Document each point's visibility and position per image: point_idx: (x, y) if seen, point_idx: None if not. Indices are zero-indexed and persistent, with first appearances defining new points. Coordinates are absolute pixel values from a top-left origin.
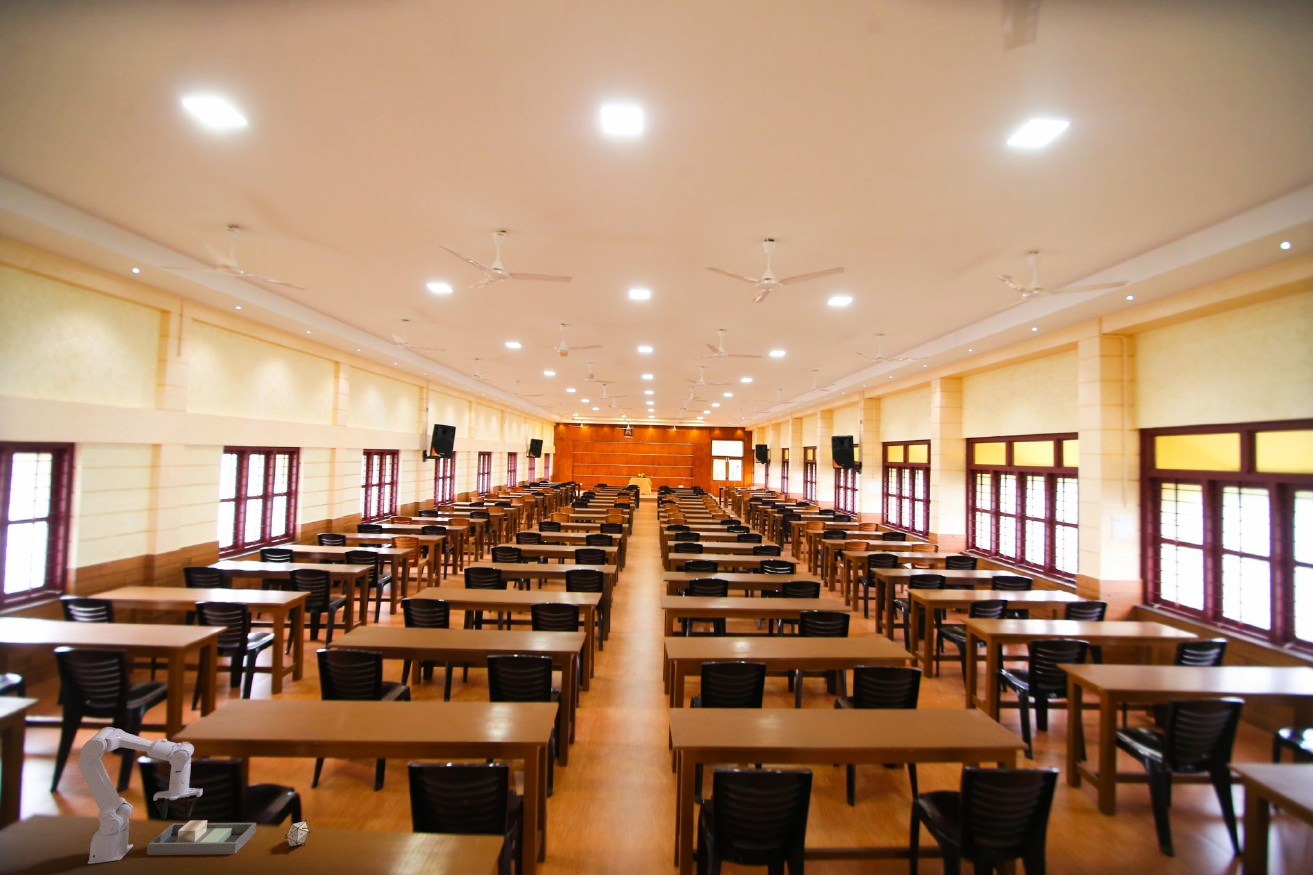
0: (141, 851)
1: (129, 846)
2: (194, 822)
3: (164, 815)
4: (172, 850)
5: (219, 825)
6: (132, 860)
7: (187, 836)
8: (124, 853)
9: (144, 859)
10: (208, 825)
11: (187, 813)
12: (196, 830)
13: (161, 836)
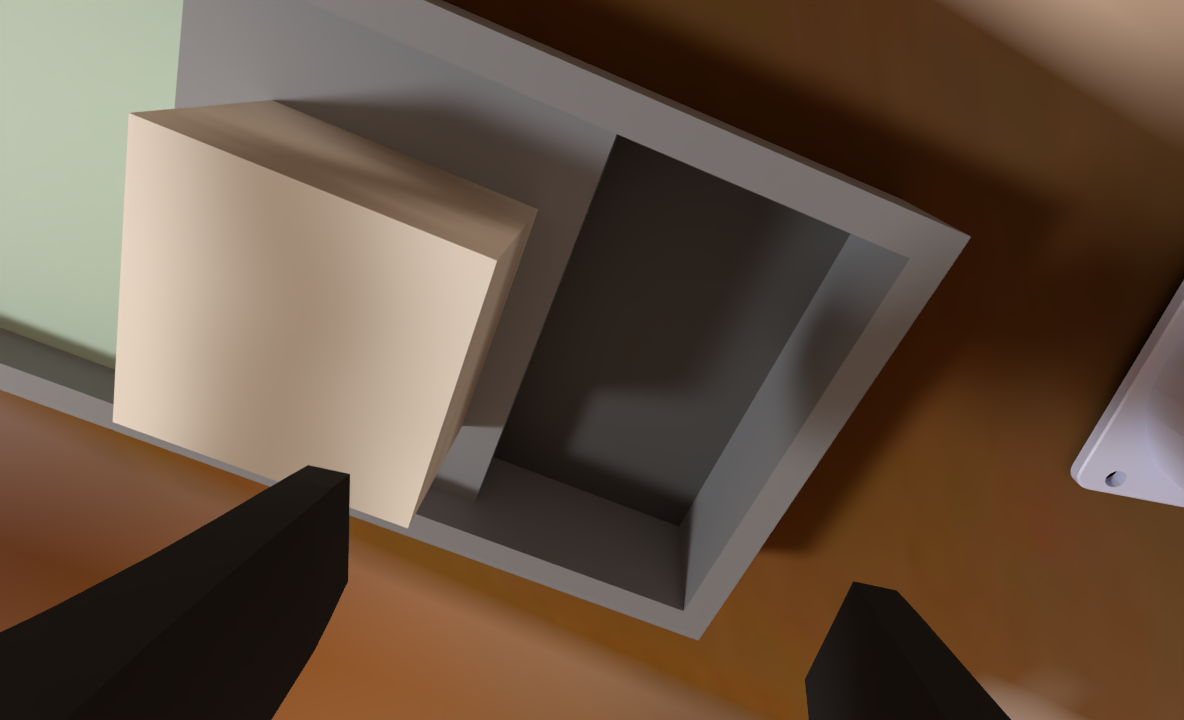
0: (969, 315)
1: (1119, 456)
2: (310, 441)
3: (876, 696)
4: (566, 56)
5: (83, 380)
6: (1071, 126)
7: (355, 164)
8: (1182, 321)
9: (919, 83)
10: None
11: (226, 529)
12: (140, 140)
13: (788, 422)
